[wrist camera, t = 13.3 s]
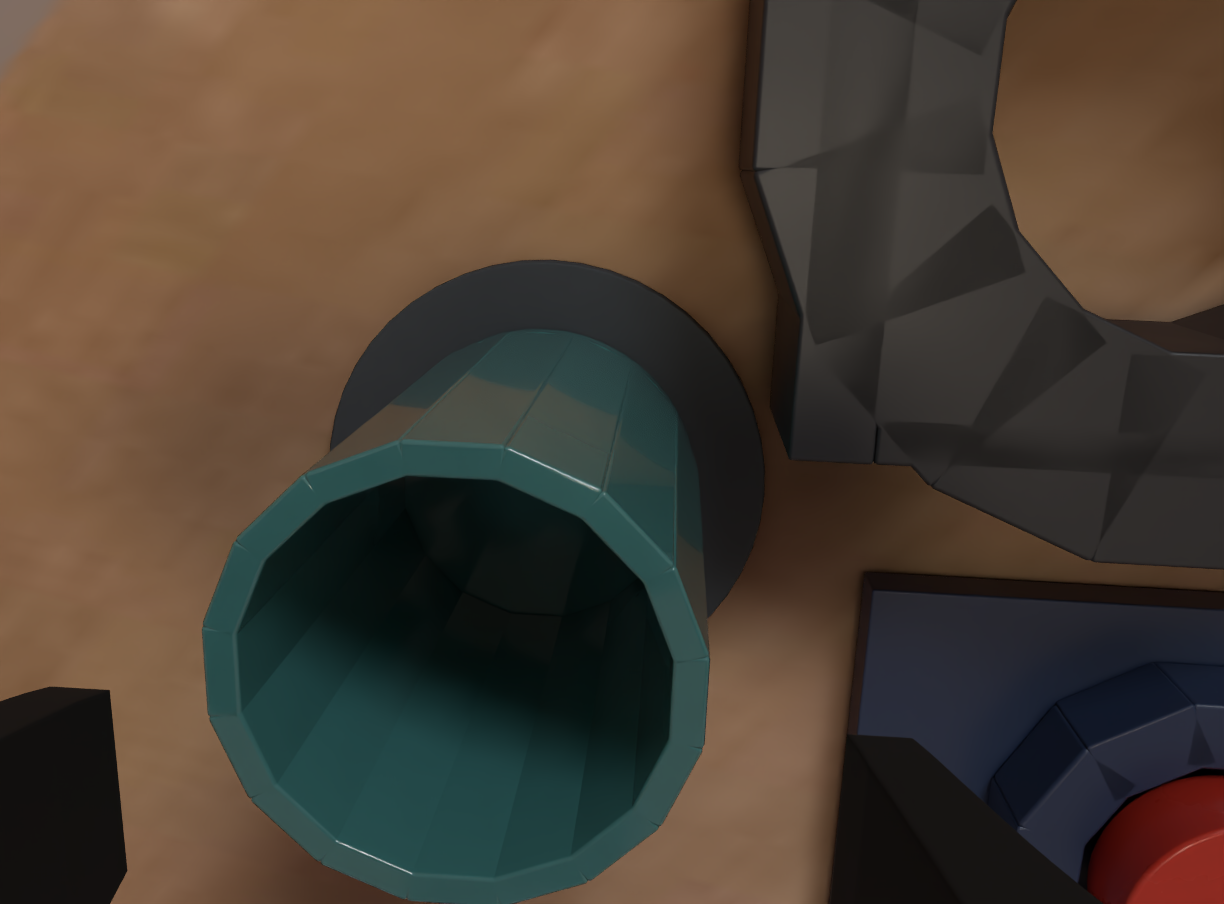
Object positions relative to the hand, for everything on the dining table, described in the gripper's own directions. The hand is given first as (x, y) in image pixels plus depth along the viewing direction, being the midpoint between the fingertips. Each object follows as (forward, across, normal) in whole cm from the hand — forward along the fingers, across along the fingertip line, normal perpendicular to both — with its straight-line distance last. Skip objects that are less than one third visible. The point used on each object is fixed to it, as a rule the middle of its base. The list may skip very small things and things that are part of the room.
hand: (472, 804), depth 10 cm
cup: (+10, 0, 0) cm, 10 cm away
